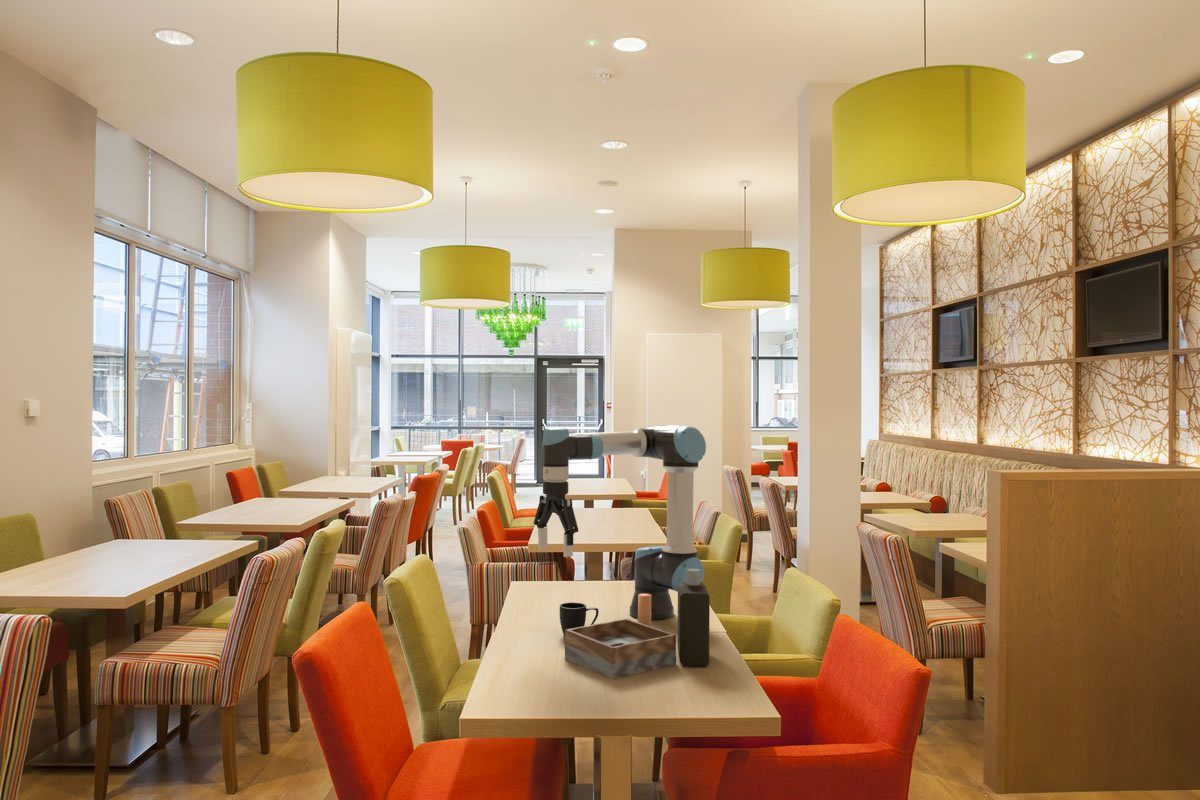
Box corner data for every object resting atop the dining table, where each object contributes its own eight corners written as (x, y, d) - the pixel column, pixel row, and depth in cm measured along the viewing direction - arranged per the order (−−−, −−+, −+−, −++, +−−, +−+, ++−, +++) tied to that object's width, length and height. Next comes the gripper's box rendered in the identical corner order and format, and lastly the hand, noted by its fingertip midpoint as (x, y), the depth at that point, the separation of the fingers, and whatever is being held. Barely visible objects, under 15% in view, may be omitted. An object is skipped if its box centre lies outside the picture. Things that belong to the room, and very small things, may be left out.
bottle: (680, 667, 224) (680, 575, 224) (677, 650, 240) (677, 564, 240) (709, 668, 223) (710, 575, 223) (704, 650, 239) (705, 564, 239)
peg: (645, 639, 251) (645, 593, 251) (653, 642, 248) (654, 595, 248) (635, 641, 249) (635, 594, 249) (643, 644, 245) (643, 597, 246)
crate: (626, 645, 244) (626, 618, 244) (675, 664, 226) (676, 634, 226) (564, 658, 231) (565, 629, 231) (612, 679, 213) (612, 648, 213)
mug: (596, 641, 249) (596, 609, 249) (557, 639, 250) (557, 607, 250) (599, 633, 257) (600, 603, 257) (561, 632, 258) (562, 601, 258)
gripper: (522, 478, 250) (522, 548, 250) (568, 484, 230) (568, 560, 229) (543, 477, 254) (543, 546, 254) (590, 483, 234) (590, 558, 234)
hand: (555, 553), depth 242 cm, fingers open, 13 cm apart
